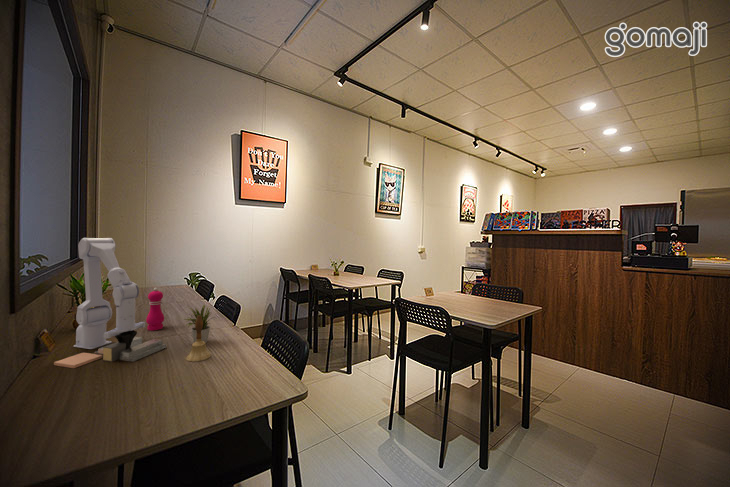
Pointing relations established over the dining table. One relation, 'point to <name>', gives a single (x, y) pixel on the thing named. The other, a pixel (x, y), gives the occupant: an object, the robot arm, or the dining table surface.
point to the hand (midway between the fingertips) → (125, 350)
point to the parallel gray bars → (138, 349)
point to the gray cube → (113, 351)
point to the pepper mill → (155, 311)
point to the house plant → (205, 328)
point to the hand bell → (198, 344)
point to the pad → (77, 360)
